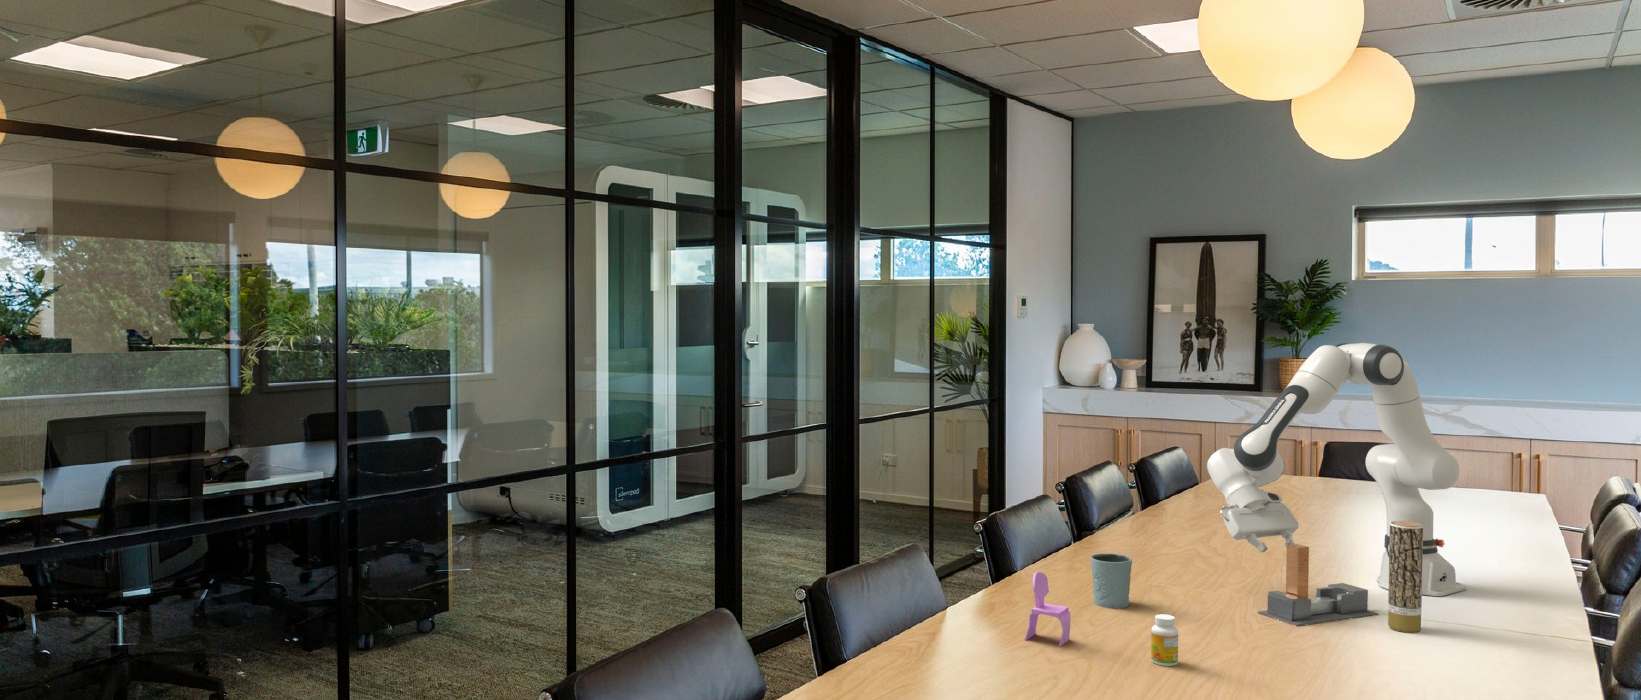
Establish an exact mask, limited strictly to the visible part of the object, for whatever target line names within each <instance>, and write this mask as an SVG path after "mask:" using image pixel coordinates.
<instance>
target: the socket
mask: <svg viewBox="0 0 1641 700" xmlns="http://www.w3.org/2000/svg"><path fill="white" fill-rule="evenodd" d="M1267 610H1268V611H1267V614H1270V615H1273V616H1276V617H1279V618H1282V619H1285V620H1288V621H1291V622H1292V621H1300V620H1307V619H1311V599H1310V598H1309V597H1308V598H1304V599H1302V598H1300V597H1297V596H1294V595H1290V594H1287V593H1286V591H1284V592H1283V591H1281V590H1280V591H1279V590H1274V591H1273V590H1272V591H1268V593H1267Z"/></svg>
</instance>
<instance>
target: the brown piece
mask: <svg viewBox="0 0 1641 700" xmlns="http://www.w3.org/2000/svg"><path fill="white" fill-rule="evenodd" d="M1309 557H1310V546H1307V545H1302V544H1298V543H1295V544H1293V545H1287V547H1286V564H1285V565H1286V569H1285V572H1286V573H1285V577H1286V578H1285V592H1286V593H1287V594H1290V595H1294V596H1297V597H1300V598H1302V599H1304V598H1308V599H1311V615H1314V614H1321V613H1329V612H1337V600H1335V599H1332V598H1328V597H1318V598H1316V597H1312V598H1309V574H1310V573H1309V571H1310V570H1309V569H1310V568H1309V563H1310V561H1309V560H1310V558H1309Z"/></svg>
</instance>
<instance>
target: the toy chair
mask: <svg viewBox="0 0 1641 700" xmlns="http://www.w3.org/2000/svg"><path fill="white" fill-rule="evenodd" d="M1032 590H1033V593H1034V594H1033V595H1034V602H1035V606H1034V607H1032V608H1031V612H1030V614H1029V618H1028V622H1029V623H1028V628H1027V631H1026V634H1025V638H1024V641H1027V640H1029V639H1030V638H1032V637H1033V636H1035V635H1036V633H1037V632H1036V631H1037V623H1038V619H1039V615H1044V616H1049V617H1054V618H1057V619H1058V620H1059V622H1060V625H1061V630H1062V632H1061V637H1060V641H1059V644H1058V647H1059V648H1060V647H1062V646H1063V645H1064V644H1065V643H1067V642H1068V641H1069V640H1070V634H1071V633H1070V631H1071V612H1070V611H1069V606H1065V605H1055V604H1051V603H1045V598H1046V597H1047V595H1048V594H1049V580H1048V577H1047V574H1046V573H1044V572H1041V571H1036V572H1034V573H1033V577H1032Z"/></svg>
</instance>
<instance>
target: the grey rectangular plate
mask: <svg viewBox="0 0 1641 700" xmlns="http://www.w3.org/2000/svg"><path fill="white" fill-rule="evenodd" d="M1267 611H1268V609H1267V610H1260V611H1257V614H1259V613H1260V614H1259V615H1262V614H1263V615H1262V616H1265V617H1267V618H1272V619H1274V618H1276V619H1275V620H1277V619H1279V620H1278V621H1280V620H1281V621H1280V622H1283V621H1284V622H1283V623H1286V622H1287V623H1286V624H1289V625H1292V624H1294V625H1293V626H1295V625H1296V626H1295V627H1300V626H1299V625H1302V626H1306V625H1305V624H1309V625H1315V624H1322V623H1323V622H1324V623H1330V622H1329V621H1331V622H1336V620H1338V621H1345V620H1344V619H1346V620H1350V618H1353V619H1360V618H1367V617H1374V615H1375V616H1379V613H1378V612H1376V611H1372V610H1368V611H1367V612H1359V613H1352V614H1345V615H1340V614H1337V612H1329V613H1321V614H1314V615H1311V619H1307V620H1300V621H1292V622H1291V621H1288V620H1285V619H1282V618H1279V617H1276V616H1273V615H1270V614H1267ZM1342 619H1343V620H1342ZM1324 623H1323V624H1324Z"/></svg>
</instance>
